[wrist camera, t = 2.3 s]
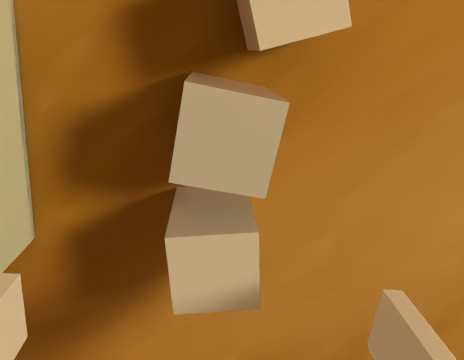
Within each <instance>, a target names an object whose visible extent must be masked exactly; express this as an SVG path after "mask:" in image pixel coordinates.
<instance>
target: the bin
mask: <svg viewBox="0 0 464 360" xmlns="http://www.w3.org/2000/svg"><path fill="white" fill-rule="evenodd" d="M34 238H35V231H34V221H33V210H32V199H31V188H30V177H29V166H28V155H27V144H26V134H25V123H24V112H23V101H22V90H21V79H20V68H19V58H18V47H17V36H16V25H15V14H14V3H13V0H0V273H2V272H3V271H4V270H5V269H6V268H7V267H8V266H9V265H10V264H11V263H12V262H13V261H14V260H15V258H16V257H17V256H18V255H19V254H20V253H21V252H22V251H23V250H24V249H25V248H26V247H27V246H28V244H29V243H30V242H31V241H32V240H33V239H34Z"/></svg>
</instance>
